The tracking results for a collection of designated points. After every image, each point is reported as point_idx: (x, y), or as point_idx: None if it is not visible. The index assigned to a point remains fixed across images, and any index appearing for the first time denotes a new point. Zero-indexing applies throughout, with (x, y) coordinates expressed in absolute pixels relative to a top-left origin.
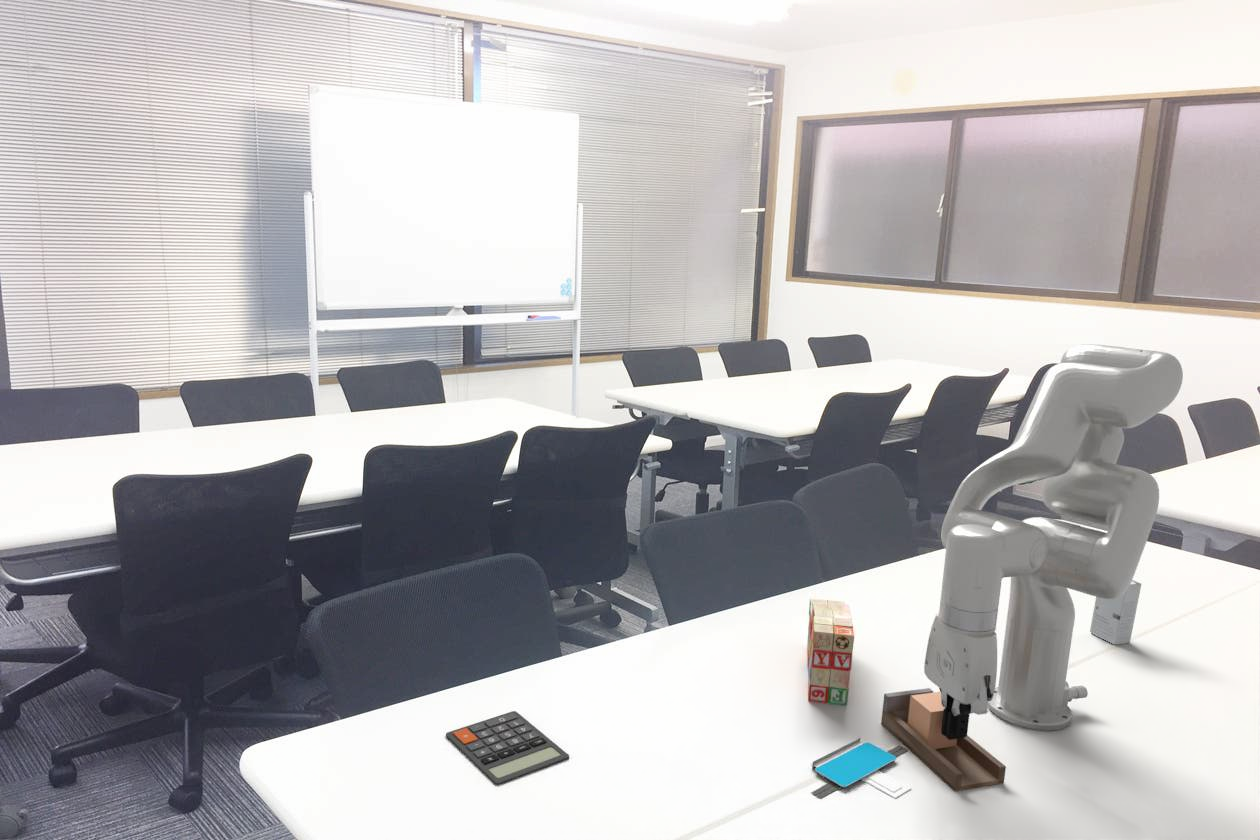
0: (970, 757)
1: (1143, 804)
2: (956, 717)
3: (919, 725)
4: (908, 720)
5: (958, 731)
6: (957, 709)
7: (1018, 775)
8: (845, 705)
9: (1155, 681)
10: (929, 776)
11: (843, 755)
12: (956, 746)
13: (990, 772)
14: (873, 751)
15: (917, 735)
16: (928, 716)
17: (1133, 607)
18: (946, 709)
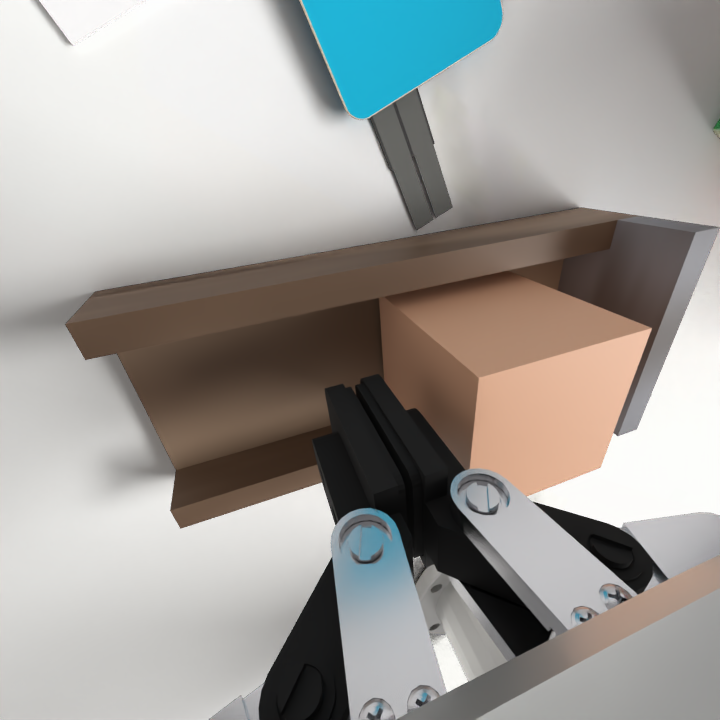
0: (321, 425)
1: (114, 706)
2: (355, 507)
3: (477, 305)
4: (534, 283)
5: (317, 457)
6: (344, 583)
7: (235, 517)
8: (716, 124)
9: None
10: (220, 229)
11: None
12: None
13: (221, 459)
14: (425, 5)
15: (437, 276)
16: (471, 354)
17: None
18: (434, 481)
